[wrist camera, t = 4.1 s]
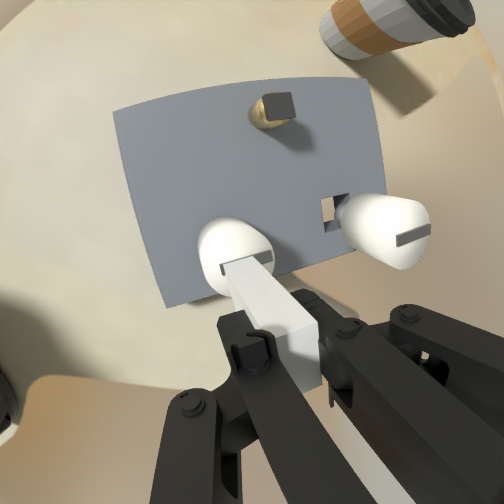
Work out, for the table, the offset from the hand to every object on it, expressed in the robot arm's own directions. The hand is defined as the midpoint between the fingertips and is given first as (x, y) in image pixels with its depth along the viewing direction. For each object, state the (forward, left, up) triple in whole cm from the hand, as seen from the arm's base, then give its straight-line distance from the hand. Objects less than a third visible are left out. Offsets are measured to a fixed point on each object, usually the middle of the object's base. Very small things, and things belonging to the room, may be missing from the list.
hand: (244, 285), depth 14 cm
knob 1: (+1, 0, -8) cm, 8 cm away
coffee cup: (+18, +18, -12) cm, 28 cm away
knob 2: (+11, 0, -4) cm, 11 cm away
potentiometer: (+6, +9, -8) cm, 13 cm away
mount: (+6, +4, -11) cm, 13 cm away
